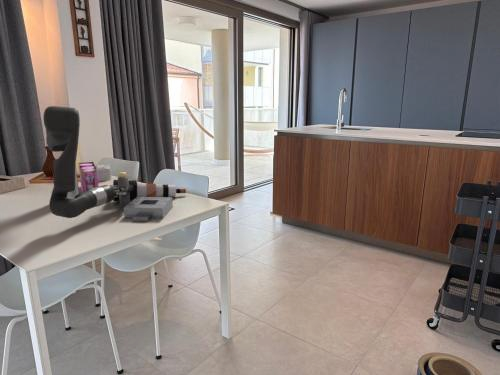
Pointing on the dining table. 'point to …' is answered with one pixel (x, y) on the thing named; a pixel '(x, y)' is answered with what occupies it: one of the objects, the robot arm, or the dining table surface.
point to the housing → (148, 208)
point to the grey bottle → (123, 183)
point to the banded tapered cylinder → (150, 190)
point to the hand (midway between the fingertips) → (127, 186)
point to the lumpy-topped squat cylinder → (103, 172)
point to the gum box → (88, 176)
